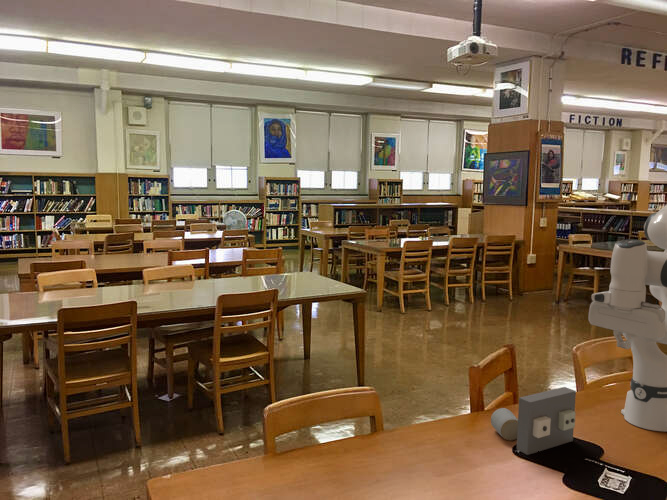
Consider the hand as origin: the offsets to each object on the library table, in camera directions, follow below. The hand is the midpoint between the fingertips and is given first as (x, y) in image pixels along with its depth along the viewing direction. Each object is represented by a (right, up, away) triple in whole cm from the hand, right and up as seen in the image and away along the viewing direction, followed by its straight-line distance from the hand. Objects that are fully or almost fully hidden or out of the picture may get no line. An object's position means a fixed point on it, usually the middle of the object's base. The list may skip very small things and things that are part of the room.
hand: (623, 347), depth 145 cm
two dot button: (-11, -27, +15) cm, 32 cm away
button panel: (-16, -32, +14) cm, 39 cm away
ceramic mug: (-25, -32, +20) cm, 45 cm away
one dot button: (-20, -27, +9) cm, 35 cm away
